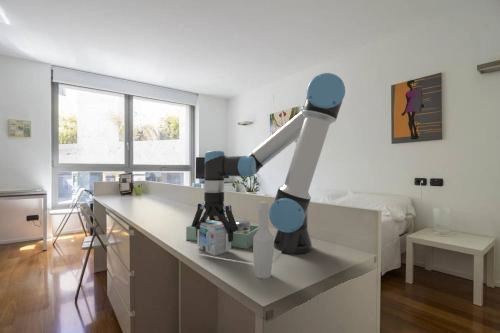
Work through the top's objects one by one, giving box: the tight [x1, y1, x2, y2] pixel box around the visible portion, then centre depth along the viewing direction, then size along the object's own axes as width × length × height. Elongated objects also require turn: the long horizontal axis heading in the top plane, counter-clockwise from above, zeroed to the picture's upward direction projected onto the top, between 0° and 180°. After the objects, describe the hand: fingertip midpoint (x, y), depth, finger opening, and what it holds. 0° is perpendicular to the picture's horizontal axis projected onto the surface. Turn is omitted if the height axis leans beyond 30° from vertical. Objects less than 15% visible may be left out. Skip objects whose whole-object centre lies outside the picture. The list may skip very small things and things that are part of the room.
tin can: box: [235, 219, 251, 234], centre depth 109 cm, size 8×8×8 cm
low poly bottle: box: [252, 201, 274, 279], centre depth 77 cm, size 6×6×22 cm
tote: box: [185, 219, 259, 249], centre depth 113 cm, size 30×16×6 cm, turn 65°
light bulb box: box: [199, 220, 230, 257], centre depth 98 cm, size 11×7×11 cm, turn 42°
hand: (213, 247), depth 98 cm, fingers closed on light bulb box, 12 cm apart
